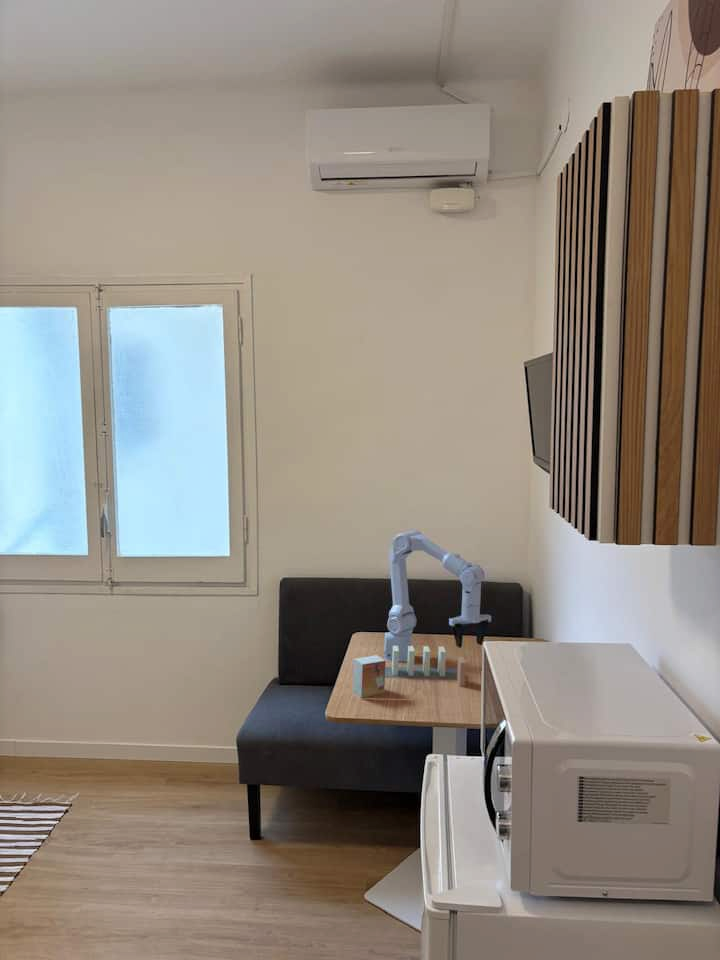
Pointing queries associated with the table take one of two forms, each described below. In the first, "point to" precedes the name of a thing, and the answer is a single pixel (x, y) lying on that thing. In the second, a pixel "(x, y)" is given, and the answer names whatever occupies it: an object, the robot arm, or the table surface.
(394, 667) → the domino
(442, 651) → the domino
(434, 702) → the table surface
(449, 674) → the mat
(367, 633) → the table surface
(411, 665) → the domino
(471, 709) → the table surface
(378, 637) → the table surface
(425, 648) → the domino
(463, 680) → the terracotta domino
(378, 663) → the small box
